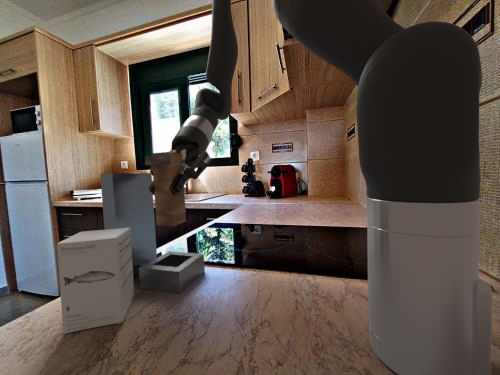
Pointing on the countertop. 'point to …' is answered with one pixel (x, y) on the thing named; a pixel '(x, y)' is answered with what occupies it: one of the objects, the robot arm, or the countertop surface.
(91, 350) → the countertop surface
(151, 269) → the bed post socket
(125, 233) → the supplement box
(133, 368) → the countertop surface
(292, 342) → the countertop surface
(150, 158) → the tan post
